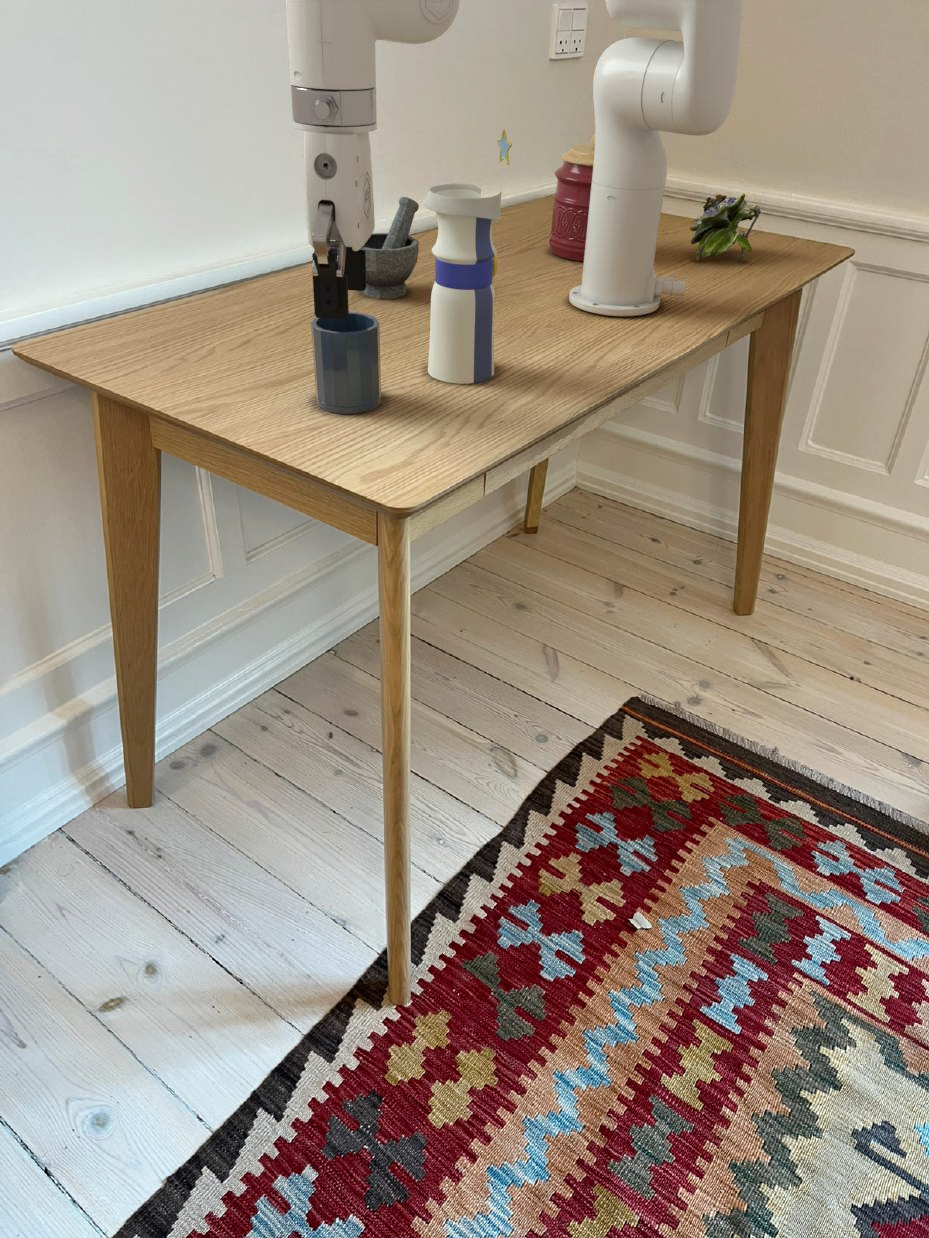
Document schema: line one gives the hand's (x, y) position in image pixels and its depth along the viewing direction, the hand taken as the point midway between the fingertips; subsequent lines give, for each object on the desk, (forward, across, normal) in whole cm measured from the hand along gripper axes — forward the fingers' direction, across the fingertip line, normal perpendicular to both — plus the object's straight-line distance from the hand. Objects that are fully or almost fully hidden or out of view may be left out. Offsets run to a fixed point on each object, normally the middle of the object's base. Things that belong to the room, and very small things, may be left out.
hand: (341, 303), depth 93 cm
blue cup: (+10, 0, 0) cm, 11 cm away
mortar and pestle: (+10, +40, +2) cm, 42 cm away
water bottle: (+10, +11, -11) cm, 19 cm away
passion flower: (+10, +69, -49) cm, 86 cm away
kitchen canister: (+10, +67, -27) cm, 73 cm away
